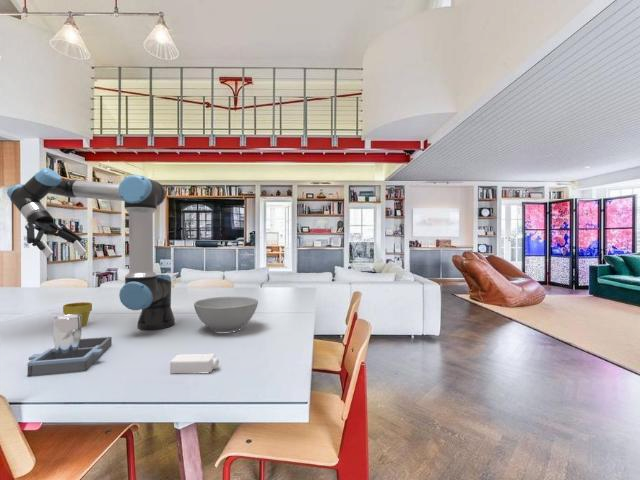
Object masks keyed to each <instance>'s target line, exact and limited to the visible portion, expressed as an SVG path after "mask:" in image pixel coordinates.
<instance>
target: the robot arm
mask: <svg viewBox="0 0 640 480" xmlns="http://www.w3.org/2000/svg"><path fill="white" fill-rule="evenodd" d="M6 194H7V196H8V198H9V199H10V201H11V203H12V204H13V205H14V206H15V208H17V210H18V211H19V212H20V214H21V215H22V216H23V217H24V219H25V220H26V221H27V223H26V224H25V226H24V228H25V230H26V243H27V244H28V245H29V244H31V245H32V246H33V247H37V249H38V250H40V251H41V252H42V254H43V255H44V256H45V257H46V258H47V259H49V258H51V256H53V254H54V251H53V250H52V249H51V248H50V246H49V245H48V243H46V241H45V240H44V239H42V238H43V236H44V235H47V236H48V235H50V236H51V235H52V236H55V237H59V238H61V239H63V240H65V241H66V242H69V243H71V245H72V247H73V248H74V250H75V251H76V252H77V253H78V254H79V256H80V257H83V256H84V255H85V254H86V253H87V252H88V251H87V250H86V249H85V247H84V246H83V244H82V243H81V241H82V240H83V237H81V236H80V235H78V234H77V233H75V232H74V231H72V230H71V229H69V228H68V227H67V226H66V225H65V224H63V223H60V224H56V223H55V222H54V221H55V219H54V217H53V216H52V215H51V213H49V211H48V210H47V208H46V207H45V206H44V204H42V202H41V200H42V199H44V198H45V197H46V196H47V195H48V194H50V195H56V196H61V197H66V198H84V199H85V198H86V199H94V200H108V201H118V202H119V201H122V202H124V206H123V207H124V211H126V212H128V245H129V246H128V258H129V260H128V263H129V264H128V267H129V268H128V269H129V270H128V273H127V274H125V276H124V284H123V286H121V288H120V291H119V295H118V296H119V301H120V303H121V304H122V305H123V307H126V308H127V309H129V310H132V311H140V310H141V312H140V315H139V317H138V319H137V326H136V327H137V329H138V330H148V331H149V330H151V331H152V330H161V329H166V328H170V327H173V326H174V325H175V324H176V322H175V321H176V319H175V316H174V313H173V310H172V277H171V275H170V274H157V273H156V272H155V271H154V239H153V238H154V232H153V231H154V229H153V228H154V226H153V225H154V220H153V219H154V216H153V215H154V213H155V212H157V207H159V206H160V205H161V204H162V203H164V201H165V199H166V190H165V188H164V186H163V185H162V183H160V182H158V181H156V180H153V179H152V178H148V177H147V176H144V175H139V174H131V175H128V176H126V177H124V178H123V179H122V180H121V182H120V183H115V182H114V183H113V182H103V181H102V182H101V181H100V182H99V181H89V180H76V179H66V178H63V177H62V176H61V175H60V174H59V173H58V172H56V171H55V170H53V169H51V168H48V167H44V168H42V169H40V170H39V171H38V172H36V173H35V174H34V175H33V176H32V177H30V178H29V180H28V181H26V183H24V184H23V183H18V184H14V185H11V186H10V187H9V188H8V189H7V191H6ZM35 230H36V231H37V235H36V236H35Z"/></svg>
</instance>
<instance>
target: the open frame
mask: <svg viewBox="0 0 640 480" xmlns="http://www.w3.org/2000/svg"><path fill="white" fill-rule="evenodd" d="M112 338H113V337H112V336H107V337H106V336H104V337H103V336H101V337H90V338H80V343H79V348H78V358H67V359H56V349H55V347H54V348H48V349H46V350H44V351H43V352H41V353H34V354H32V355H30V356H29V357H28V362H27V364H26V365H27V377H36V376H37V377H38V376H48V375H57V374H58V375H59V374H66V373H67V374H68V373H78V372H87V370H88V369H89V368H90V367H91V366H92V365H93V364H94V363H95V362H96V361H97V360H98V359H99V358H100V357H101V356H102V355H103V354H104V353H105V352H106V351H107V350H108V349H109V348H110V347H111V346H112V344H113V343H112Z"/></svg>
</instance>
